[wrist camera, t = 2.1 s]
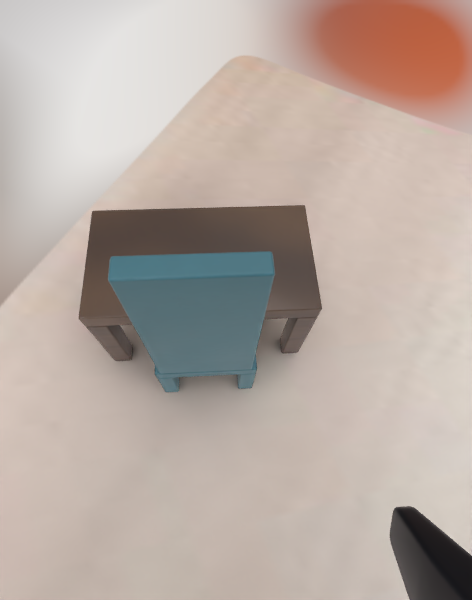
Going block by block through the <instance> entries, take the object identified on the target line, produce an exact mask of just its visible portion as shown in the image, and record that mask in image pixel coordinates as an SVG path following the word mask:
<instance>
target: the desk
mask: <svg viewBox="0 0 472 600" xmlns="http://www.w3.org/2000/svg"><path fill="white" fill-rule="evenodd" d="M261 251H270V252H272V254H273V260H274V269H275V276H274V280H273V284H272V288H271V292H270V296H269V300H268V304H267V308H266V312H265V317H264V319H278V318H288V320H287V322H286V325H285V328H284V330H283V333H282V335H281V338H280V341H281V350H282V353H297V352H298V351H299V349H300V347H301V345H302V344H303V342H304V340H305V338H306V336H307V335H308V333H309V331H310V329H311V327H312V326H313V324H314V322H315V320H316V318H317V317H318V315H319V313H320V311H321V309H322V306H321V300H320V294H319V288H318V282H317V276H316V270H315V264H314V258H313V252H312V246H311V240H310V234H309V228H308V222H307V216H306V210H305V206H304V205H297V206H259V207H221V208H183V209H145V210H107V211H92V217H91V225H90V233H89V241H88V249H87V257H86V264H85V272H84V280H83V288H82V296H81V304H80V312H79V319H80V321H81V322H82V323H83V324H84V325H85V326H86V327H87V328H88V330H89V331H90V332H91V333H92V334H93V335H94V337H95V338H96V339H97V340H98V341H99V342H100V344H101V345H102V346H103V347H104V348H105V349H106V351H107V352H108V353H109V354H110V355H111V356H112V358H113V359H114V360H115V361H121V360H131V358H132V344H131V342H130V341H129V339H128V338H127V336H126V335H125V333H124V331H123V330H122V328H121V327H120V325H133V324H132V322H131V321H130V319H129V317H128V315H127V313H126V312H125V310H124V308H123V306H122V304H121V303H120V301H119V299H118V297H117V295H116V294H115V292H114V290H113V288H112V286H111V285H110V283H109V281H108V273H109V263H110V258H111V257H112V256H137V255H168V254H199V253H230V252H261Z"/></svg>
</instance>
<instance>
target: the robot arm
mask: <svg viewBox="0 0 472 600" xmlns="http://www.w3.org/2000/svg"><path fill="white" fill-rule="evenodd" d="M390 541H391V545H392V548H393V551H394V554H395V557H396V560H397V563H398V566H399V569H400V572H401V575H402V578H403V581H404V584H405V587H406V590H407V593H408V596H409V599H410V600H472V556H471V555H470V554H469V553H468V552H467V551H465V550H464V549H463V548H462V547H461V546H459V545H458V544H457V543H456V542H455V541H453V540H452V539H451V538H450V537H449V536H448V535H446V534H445V533H444V532H443V531H442V530H440V529H439V528H438V527H437V526H436V525H434V524H433V523H432V522H431V521H430V520H428V519H427V518H426V517H425V516H424V515H423V514H421V513H420V512H419V511H418V510H417V509H415V508H413V507H411V506H406V507H396V508H395V509H394V511H393V516H392V522H391V528H390Z"/></svg>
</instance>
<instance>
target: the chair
mask: <svg viewBox="0 0 472 600" xmlns="http://www.w3.org/2000/svg"><path fill="white" fill-rule="evenodd" d="M274 276H275V269H274V260H273V254H272V252H270V251H261V252H230V253H199V254H168V255H137V256H112V257H111V258H110V263H109V273H108V281H109V283H110V285H111V286H112V288H113V290H114V292H115V294H116V295H117V297H118V299H119V301H120V303H121V304H122V306H123V308H124V310H125V312H126V313H127V315H128V317H129V319H130V321H131V322H132V324H133V326H134V328H135V330H136V331H137V333H138V335H139V337H140V339H141V340H142V342H143V344H144V346H145V348H146V349H147V351H148V353H149V355H150V356H151V358H152V360H153V362H154V364H155V375H156V377H157V378H158V380H159V382H160V383H161V385H162V387H163V388H164V390H165V392H178V391H179V378H178V377H193V376H214V375H235V374H238V375H237V379H238V388H239V389H242V388H252V384H253V381H254V378H255V374H256V370H257V363H256V349H257V345H258V341H259V337H260V333H261V329H262V325H263V321H264V317H265V312H266V308H267V304H268V300H269V296H270V292H271V288H272V284H273V280H274Z"/></svg>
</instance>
